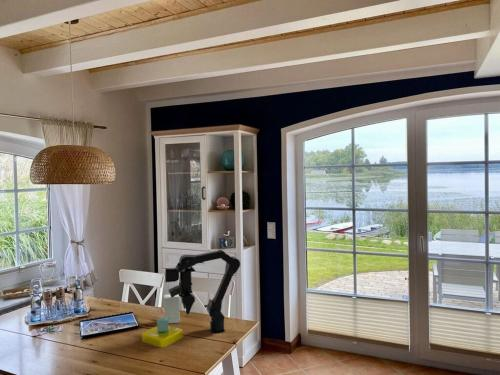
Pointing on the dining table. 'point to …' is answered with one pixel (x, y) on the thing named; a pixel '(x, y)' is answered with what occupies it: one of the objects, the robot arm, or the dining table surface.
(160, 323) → the block
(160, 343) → the element tile
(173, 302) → the skincare box
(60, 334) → the dining table surface
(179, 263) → the robot arm
